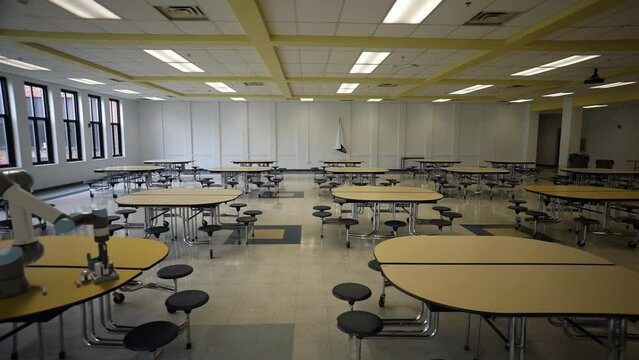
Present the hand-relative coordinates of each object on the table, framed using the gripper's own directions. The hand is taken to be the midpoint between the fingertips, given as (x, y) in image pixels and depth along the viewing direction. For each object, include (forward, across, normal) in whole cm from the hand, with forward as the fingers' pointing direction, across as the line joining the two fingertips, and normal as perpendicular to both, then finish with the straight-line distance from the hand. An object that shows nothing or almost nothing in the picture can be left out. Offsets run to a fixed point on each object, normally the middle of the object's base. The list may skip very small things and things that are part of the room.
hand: (104, 271), depth 200 cm
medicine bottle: (+2, 0, 0) cm, 2 cm away
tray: (+4, 0, 0) cm, 4 cm away
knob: (+4, +3, +9) cm, 10 cm away
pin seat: (+4, +1, +20) cm, 21 cm away
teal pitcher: (+4, +24, +1) cm, 24 cm away
